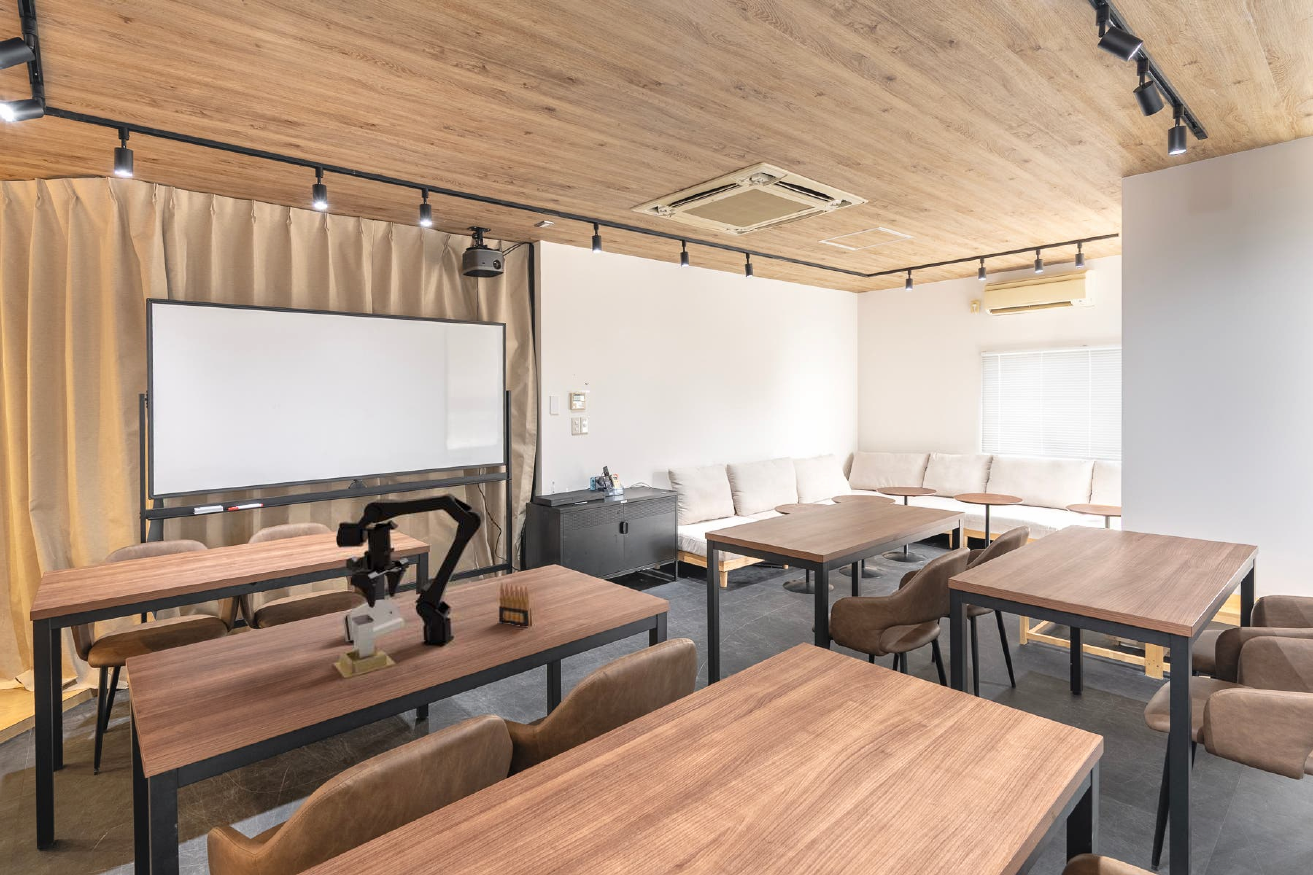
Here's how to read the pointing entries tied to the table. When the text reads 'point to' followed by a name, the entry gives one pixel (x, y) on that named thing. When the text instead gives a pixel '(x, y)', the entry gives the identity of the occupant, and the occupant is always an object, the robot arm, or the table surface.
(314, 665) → the table surface
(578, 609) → the table surface
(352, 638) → the white rounded housing
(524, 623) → the ammunition clip
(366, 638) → the bar
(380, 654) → the strike pocket
